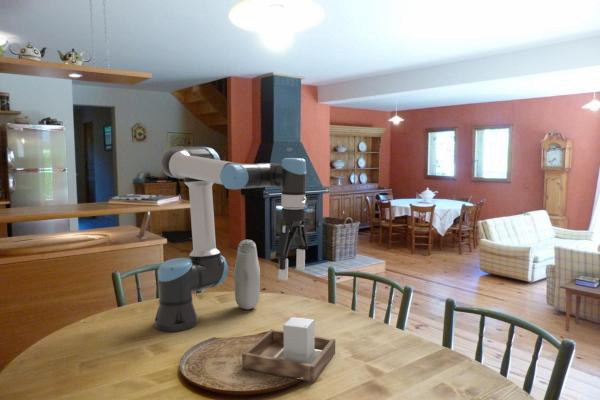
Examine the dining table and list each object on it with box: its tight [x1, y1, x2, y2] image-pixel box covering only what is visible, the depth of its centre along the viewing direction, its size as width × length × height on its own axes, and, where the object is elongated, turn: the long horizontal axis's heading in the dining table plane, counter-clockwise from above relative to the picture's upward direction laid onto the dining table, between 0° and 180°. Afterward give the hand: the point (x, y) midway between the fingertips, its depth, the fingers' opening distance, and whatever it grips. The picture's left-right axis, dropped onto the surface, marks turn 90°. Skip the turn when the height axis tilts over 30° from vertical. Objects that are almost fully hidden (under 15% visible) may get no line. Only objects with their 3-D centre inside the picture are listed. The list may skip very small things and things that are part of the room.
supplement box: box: [282, 316, 315, 364], centre depth 133 cm, size 7×7×13 cm
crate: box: [241, 329, 336, 384], centre depth 137 cm, size 22×20×4 cm
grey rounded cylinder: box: [233, 239, 261, 310], centre depth 182 cm, size 10×10×28 cm
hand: (292, 274), depth 144 cm, fingers open, 13 cm apart
